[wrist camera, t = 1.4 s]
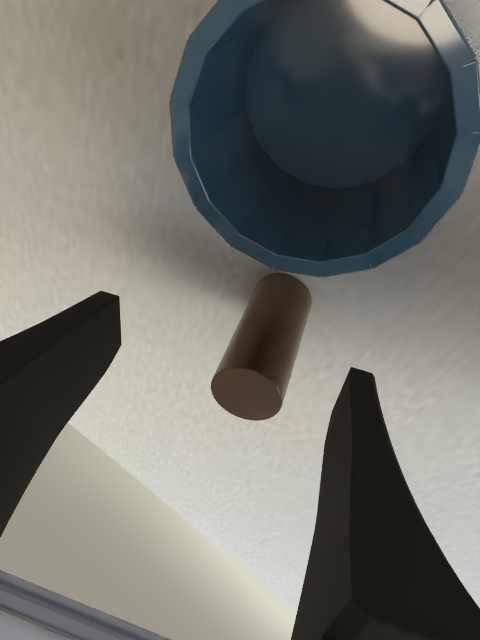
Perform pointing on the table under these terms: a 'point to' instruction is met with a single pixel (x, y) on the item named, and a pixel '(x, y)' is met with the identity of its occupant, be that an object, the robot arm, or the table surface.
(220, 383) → the walnut peg
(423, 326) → the table surface
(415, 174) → the pen cup
